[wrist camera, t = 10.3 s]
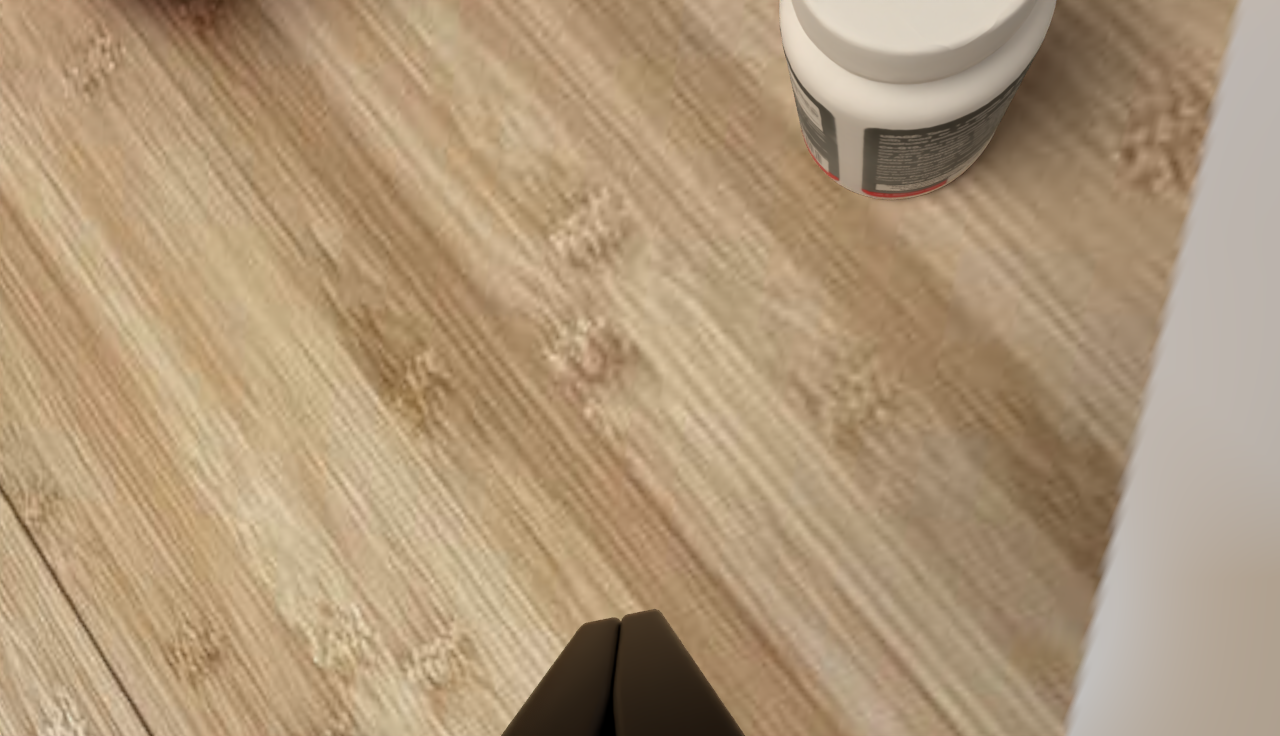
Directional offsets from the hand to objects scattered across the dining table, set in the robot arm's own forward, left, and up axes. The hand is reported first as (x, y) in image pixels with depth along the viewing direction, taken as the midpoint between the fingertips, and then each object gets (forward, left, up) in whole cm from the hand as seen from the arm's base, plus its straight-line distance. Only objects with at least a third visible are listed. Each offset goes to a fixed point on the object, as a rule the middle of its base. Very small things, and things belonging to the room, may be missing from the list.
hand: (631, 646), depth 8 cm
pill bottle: (0, -10, -13) cm, 16 cm away
